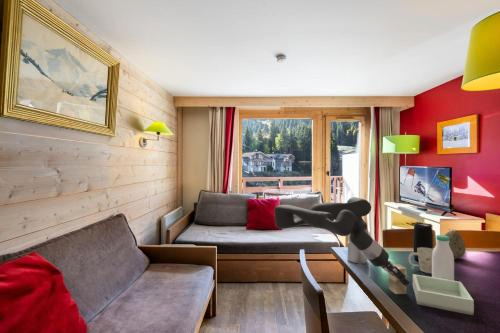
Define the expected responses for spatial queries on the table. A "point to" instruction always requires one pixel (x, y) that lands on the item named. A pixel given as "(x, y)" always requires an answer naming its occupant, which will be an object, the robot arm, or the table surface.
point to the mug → (423, 259)
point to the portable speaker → (422, 237)
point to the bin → (442, 294)
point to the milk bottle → (442, 259)
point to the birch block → (397, 281)
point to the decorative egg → (456, 244)
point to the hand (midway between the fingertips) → (401, 280)
